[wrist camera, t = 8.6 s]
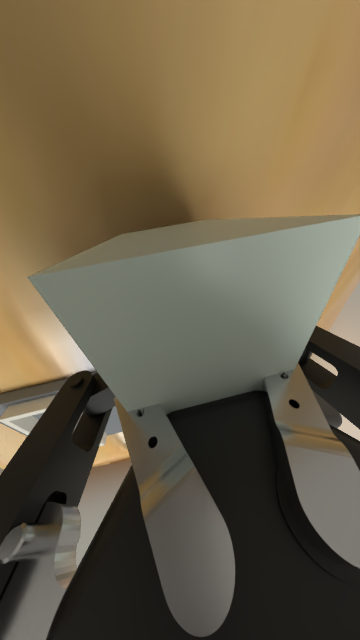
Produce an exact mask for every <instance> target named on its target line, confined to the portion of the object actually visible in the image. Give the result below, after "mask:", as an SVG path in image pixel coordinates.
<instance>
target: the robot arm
mask: <svg viewBox="0 0 360 640" xmlns="http://www.w3.org/2000/svg"><path fill="white" fill-rule="evenodd" d="M312 353H314V354H316V355H318V356H319V357H321V358H322V359H324V360H325V361H327V362H328V363H330V364H332V365H333V366H334V367H335V368H336V369H337V371H338V375H337V376H335V375H334V374H332V373H331V372H330V371H328V370H327V369H325V368H324V367H322V366H321V365H319V364H318V363H316V362H315V361H313V360H312V359H310V357H311V355H312ZM279 374H280V373H278V374H274V375H271V376H267V377H264V379H263V383H262V390H263V391H256V390H254V391H250V392H246V393H242V394H238V395H234V396H231V397H227V398H223V399H219V400H215V401H211V402H207V403H204V404H200V405H196V406H192V407H188V408H184V409H180V410H177V411H173V412H170V413H169V414H167V415H166V414H165V412H164V410H163V408H162V406H161V405H160V404H156V405H152V406H148V407H144V408H143V410H144V411H145V412H144V414H143V415H142V413H141V411H140V410H139V409H136V410H132V411H129V412H127V411H126V410H125V408H124V407H123V406H122V404H121V403H120V402H119V400H118V399H117V398H116V396H115V395H114V394H113V392H112V391H111V389H110V388H109V387H108V385H107V384H106V383H105V381H104V380H103V379H102V377H101V376H100V375H99V373H98V372H97V373H95V374H93V375H92V373H91V372H90V371H81V372H78V373H76V374H74V375H72V376H71V377H70V378H69V379H68V380H67V381H66V382H65V383H64V384H63V386H62V387H61V389H60V390H59V392H58V393H57V395H56V396H55V397H54V399H53V400H52V402H51V403H50V405H49V406H48V407H47V409H46V410H45V412H44V413H43V415H42V416H41V418H40V419H39V420H38V422H37V423H36V425H35V426H34V428H33V429H32V430H31V432H30V433H29V435H28V436H27V438H26V439H25V441H24V442H23V443H22V445H21V446H20V448H19V449H18V451H17V452H16V453H15V455H14V456H13V458H12V459H11V461H10V462H9V464H8V465H7V466H6V468H5V469H4V471H3V472H2V474H1V475H0V640H360V441H358V440H357V439H355V438H353V437H351V436H349V435H348V434H346V433H344V432H343V431H341V430H339V429H337V428H335V427H334V426H332V425H330V424H328V422H327V420H326V418H325V416H324V414H323V412H322V410H321V408H320V406H319V404H318V402H317V400H316V398H315V396H314V394H313V392H312V390H313V391H314V392H315V393H316V394H318V395H319V396H320V397H321V398H322V399H324V400H325V401H326V402H327V403H328V404H330V405H331V406H332V407H333V408H335V409H336V410H337V411H338V412H339V413H341V414H342V415H343V416H344V417H345V418H347V419H348V420H349V421H350V422H351V423H353V424H354V425H355V426H356V427H358V428H359V429H360V347H359V346H357V345H355V344H352V343H350V342H348V341H346V340H344V339H342V338H340V337H338V336H336V335H334V334H332V333H330V332H328V331H326V330H324V329H322V328H320V327H318V326H315V328H314V331H313V333H312V335H311V337H310V339H309V341H308V343H307V345H306V347H305V349H304V351H303V353H302V355H301V357H300V359H299V361H298V363H297V366H296V368H295V369H294V370H290V371H286V372H283V374H282V376H281V377H280V375H279ZM311 389H312V390H311ZM114 406H116V409H117V412H118V416H119V420H120V423H121V427H122V430H123V434H124V438H125V441H126V445H127V448H128V452H129V455H130V459H131V463H132V466H131V467H130V469H129V471H128V473H127V475H126V477H125V479H124V481H123V483H122V484H121V486H120V488H119V490H118V492H117V494H116V496H115V498H114V500H113V502H112V503H111V505H110V507H109V509H108V511H107V513H106V515H105V517H104V519H103V521H102V522H101V524H100V527H99V528H98V530H97V532H96V534H95V536H94V538H93V540H92V541H91V543H90V545H89V547H88V549H87V551H86V553H85V555H84V557H83V559H82V561H81V563H80V565H79V566H78V568H77V566H76V547H77V543H78V541H79V538H80V528H81V516H80V512H79V510H78V509H77V507H78V504H79V502H80V499H81V496H82V493H83V490H84V488H85V485H86V482H87V479H88V476H89V474H90V471H91V468H92V465H93V462H94V459H95V457H96V454H97V451H98V448H99V445H100V442H101V440H102V437H103V434H104V431H105V428H106V425H107V423H108V420H109V417H110V414H111V411H112V409H113V407H114ZM82 413H83V414H82ZM81 415H82V416H81ZM80 417H81V418H80ZM79 419H80V420H79ZM78 421H79V422H78ZM77 423H78V424H77ZM76 425H77V426H76ZM75 427H76V428H75ZM74 429H75V430H74ZM73 431H74V432H73Z"/></svg>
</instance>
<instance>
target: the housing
mask: <svg viewBox="0 0 360 640" xmlns="http://www.w3.org/2000/svg"><path fill="white" fill-rule="evenodd" d="M359 236H360V214H356V215H327V216H298V217H269V218H241V219H212V220H201V221H195V222H189V223H183V224H177V225H172V226H166V227H160V228H154V229H148V230H143V231H137V232H131V233H125V234H120V235H118V236H116V237H114V238H112V239H110V240H107V241H105V242H103V243H101V244H99V245H96V246H94V247H92V248H90V249H88V250H85V251H83V252H81V253H79V254H77V255H74V256H72V257H70V258H68V259H66V260H64V261H61V262H59V263H57V264H55V265H53V266H50V267H48V268H46V269H44V270H42V271H39V272H37V273H35V274H33V275H31V276H28V279H29V280H30V281H31V283H32V284H33V285H34V287H35V288H36V290H37V291H38V292H39V294H40V295H41V296H42V298H43V299H44V300H45V302H46V303H47V304H48V306H49V307H50V308H51V310H52V311H53V312H54V314H55V315H56V317H57V318H58V319H59V321H60V322H61V323H62V325H63V326H64V327H65V329H66V330H67V331H68V333H69V334H70V335H71V337H72V338H73V339H74V341H75V342H76V344H77V345H78V346H79V348H80V349H81V350H82V352H83V353H84V354H85V356H86V357H87V358H88V360H89V361H90V362H91V364H92V365H93V367H94V368H95V369H96V371H97V372H98V373H99V375H100V376H101V377H102V379H103V380H104V381H105V383H106V384H107V385H108V387H109V388H110V389H111V391H112V392H113V394H114V395H115V396H116V398H117V399H118V400H119V402H120V403H121V404H122V406H123V407H124V408H125V410H126V411H127V412H129V411H132V410H136V409H139V410H140V411H141V413H142V415H143V414H144V412H145V411H144V410H143V408H144V407H148V406H152V405H156V404H160V405H161V406H162V408H163V410H164V412H165V414H166V415H167V414H169V413H170V412H173V411H177V410H180V409H184V408H188V407H192V406H196V405H200V404H204V403H207V402H211V401H215V400H219V399H223V398H227V397H231V396H234V395H238V394H242V393H246V392H250V391H254V390H256V391H263V390H262V383H263V379H264V377H267V376H271V375H274V374H278V373H280V374H279V375H280V377H281V376H282V374H283V372H286V371H290V370H294V369H295V368H296V366H297V363H298V361H299V359H300V357H301V355H302V353H303V351H304V349H305V347H306V345H307V343H308V341H309V339H310V337H311V335H312V333H313V331H314V328H315V326H316V324H317V322H318V320H319V318H320V316H321V314H322V312H323V310H324V308H325V306H326V304H327V302H328V300H329V298H330V296H331V294H332V291H333V289H334V287H335V285H336V283H337V281H338V279H339V277H340V275H341V273H342V271H343V269H344V267H345V265H346V263H347V261H348V259H349V257H350V254H351V252H352V250H353V248H354V246H355V244H356V242H357V240H358V238H359Z"/></svg>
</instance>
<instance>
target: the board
mask: <svg viewBox="0 0 360 640" xmlns="http://www.w3.org/2000/svg"><path fill="white" fill-rule="evenodd" d="M95 373H97V372H93V373H92V375H93V374H95ZM68 379H69V378H67V379H63V380H58V381H54V382H50V383H46V384H41V385H37V386H33V387H28V388H24V389H20V390H16V391H11V392H7V393H3V394H0V423H1V424H3V425H5V426H7V427H9V428H11V429H13V430H15V431H17V432H19V433H22V434H24V435H26V436H28V435H29V433H30V432H31V430H32V429H33V428H34V426H35V425H36V423H37V422H38V420H39V419H40V418H41V416H42V415H43V413H44V412H45V410H46V409H47V407H48V406H49V405H50V403H51V402H52V400H53V399H54V397H55V396H56V395H57V393H58V392H59V390H60V389H61V387H62V386H63V384H64V383H65V382H66V381H67V380H68ZM82 414H83V413H82ZM81 416H82V415H81ZM80 418H81V417H80ZM79 420H80V419H79ZM78 422H79V421H78ZM77 424H78V423H77ZM76 426H77V425H76ZM75 428H76V427H75ZM74 430H75V429H74ZM122 431H123V430H122V427H121V423H120V420H119V416H118V412H117V409H116V406H114V407H113V409H112V411H111V414H110V417H109V420H108V423H107V425H106V428H105V431H104V434H103V437H102V440H101V442H100V445H99V446H103V445H105V442H106V437H107V435H111V434H115V433H119V432H122ZM73 432H74V431H73Z"/></svg>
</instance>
